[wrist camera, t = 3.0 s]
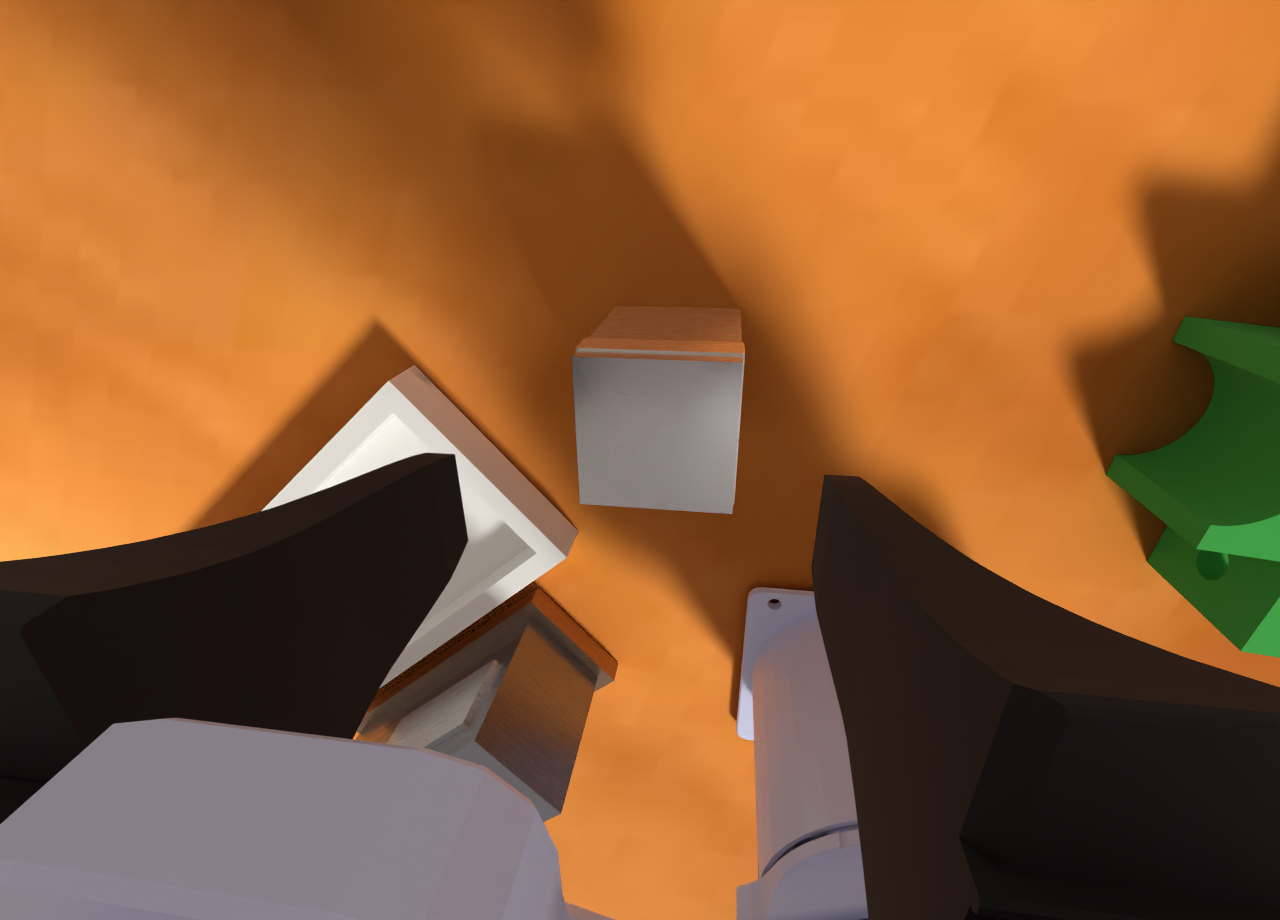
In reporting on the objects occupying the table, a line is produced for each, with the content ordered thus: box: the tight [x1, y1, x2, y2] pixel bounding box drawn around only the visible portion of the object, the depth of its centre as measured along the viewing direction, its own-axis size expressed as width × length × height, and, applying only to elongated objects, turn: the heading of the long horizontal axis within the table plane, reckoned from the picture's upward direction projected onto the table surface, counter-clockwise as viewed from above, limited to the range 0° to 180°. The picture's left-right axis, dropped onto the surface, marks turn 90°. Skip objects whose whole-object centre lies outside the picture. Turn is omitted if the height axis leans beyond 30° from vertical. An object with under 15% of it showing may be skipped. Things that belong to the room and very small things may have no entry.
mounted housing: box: [356, 587, 618, 822], centre depth 25 cm, size 13×5×7 cm, turn 132°
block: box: [572, 306, 745, 514], centre depth 17 cm, size 4×4×6 cm
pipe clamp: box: [1106, 316, 1280, 658], centre depth 16 cm, size 11×4×5 cm, turn 175°
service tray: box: [262, 365, 578, 688], centre depth 25 cm, size 16×9×2 cm, turn 132°
